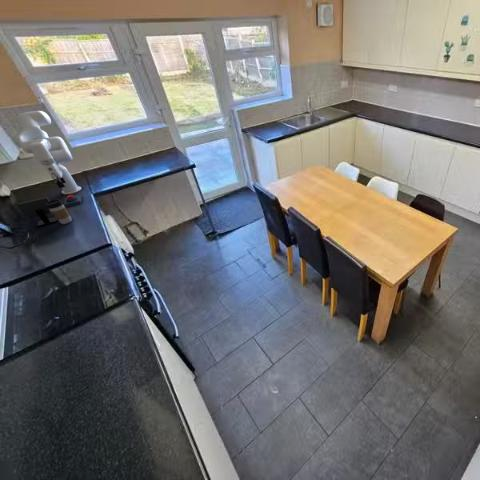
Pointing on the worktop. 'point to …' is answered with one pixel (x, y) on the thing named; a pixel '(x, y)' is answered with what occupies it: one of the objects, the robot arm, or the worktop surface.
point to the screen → (34, 206)
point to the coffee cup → (59, 211)
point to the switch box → (73, 201)
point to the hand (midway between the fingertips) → (62, 185)
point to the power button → (70, 196)
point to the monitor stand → (45, 218)
